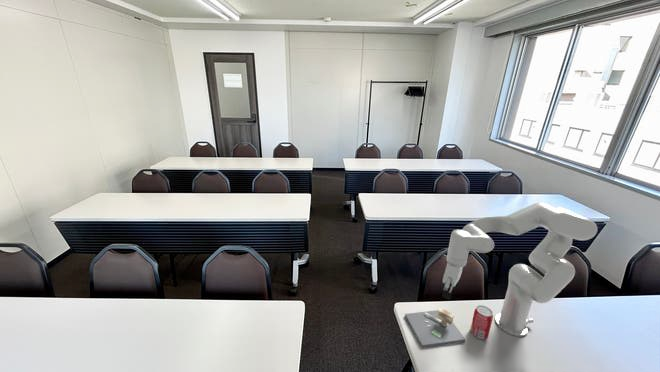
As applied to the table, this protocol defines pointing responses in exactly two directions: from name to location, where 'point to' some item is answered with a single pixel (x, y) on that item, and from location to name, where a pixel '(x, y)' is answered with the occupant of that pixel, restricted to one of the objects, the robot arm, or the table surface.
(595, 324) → the table surface
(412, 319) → the grey flat slab
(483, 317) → the soda can
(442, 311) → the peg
